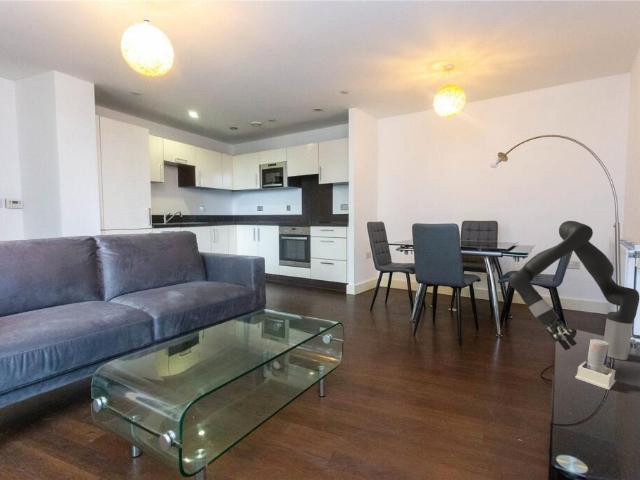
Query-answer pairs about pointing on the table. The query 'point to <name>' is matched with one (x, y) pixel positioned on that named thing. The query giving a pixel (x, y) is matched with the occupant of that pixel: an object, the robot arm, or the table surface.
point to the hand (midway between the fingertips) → (571, 347)
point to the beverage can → (597, 356)
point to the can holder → (596, 376)
